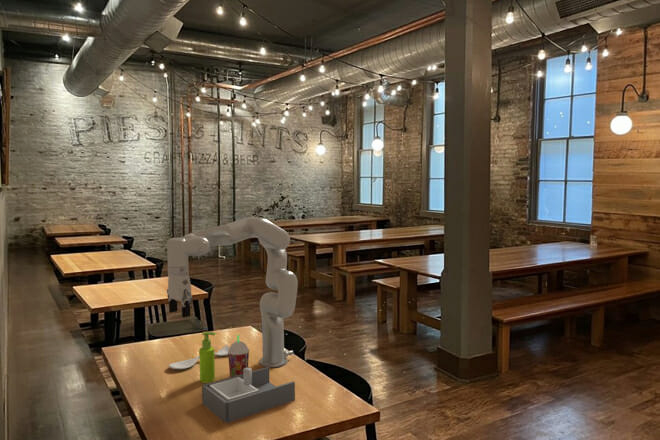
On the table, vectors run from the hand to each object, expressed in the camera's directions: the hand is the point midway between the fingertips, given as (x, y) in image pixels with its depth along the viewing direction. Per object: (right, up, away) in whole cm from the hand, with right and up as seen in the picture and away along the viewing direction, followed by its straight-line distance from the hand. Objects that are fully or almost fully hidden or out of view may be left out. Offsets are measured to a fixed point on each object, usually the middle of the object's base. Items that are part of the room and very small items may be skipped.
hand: (179, 314), depth 193 cm
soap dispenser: (+8, -30, +13) cm, 33 cm away
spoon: (+1, -28, +33) cm, 44 cm away
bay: (+28, -31, -8) cm, 42 cm away
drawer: (+24, -30, -11) cm, 40 cm away
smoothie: (+21, -30, +9) cm, 38 cm away
